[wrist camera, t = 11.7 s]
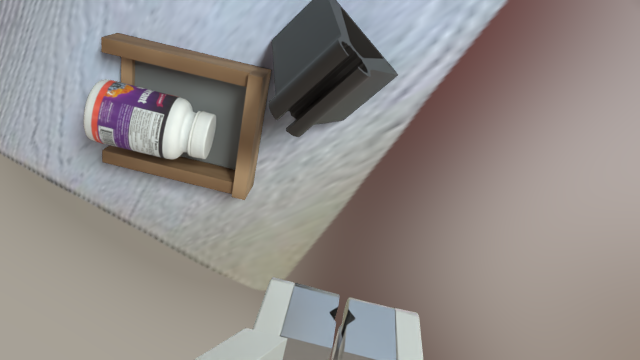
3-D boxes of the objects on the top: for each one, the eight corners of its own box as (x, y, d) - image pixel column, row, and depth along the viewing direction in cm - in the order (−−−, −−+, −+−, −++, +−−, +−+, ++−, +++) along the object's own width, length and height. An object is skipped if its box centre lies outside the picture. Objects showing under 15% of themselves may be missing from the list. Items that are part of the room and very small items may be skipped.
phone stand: (272, 39, 39) (228, 70, 28) (326, -13, 36) (300, -1, 26) (343, 119, 41) (328, 176, 30) (398, 74, 38) (402, 119, 28)
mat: (137, 53, 41) (135, 54, 40) (254, 82, 40) (253, 82, 40) (134, 143, 44) (133, 144, 44) (241, 169, 44) (240, 170, 44)
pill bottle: (114, 76, 41) (222, 104, 42) (105, 135, 42) (210, 160, 43) (86, 78, 36) (210, 110, 37) (77, 145, 37) (197, 173, 38)
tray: (117, 32, 40) (98, 38, 37) (271, 69, 40) (263, 77, 37) (116, 151, 45) (99, 164, 42) (253, 185, 45) (244, 200, 42)
